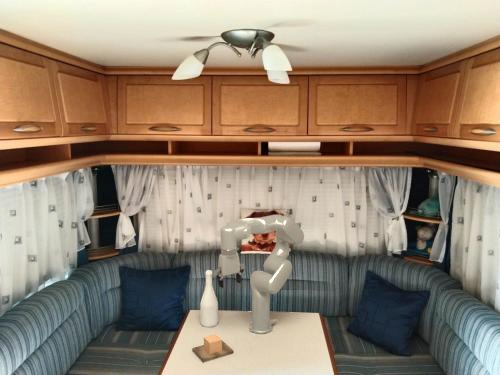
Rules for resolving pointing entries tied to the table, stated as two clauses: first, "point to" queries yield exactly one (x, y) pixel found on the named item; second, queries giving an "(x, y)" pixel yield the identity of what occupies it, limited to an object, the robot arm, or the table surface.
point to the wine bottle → (209, 304)
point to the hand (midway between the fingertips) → (230, 284)
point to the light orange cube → (212, 344)
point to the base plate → (205, 356)
